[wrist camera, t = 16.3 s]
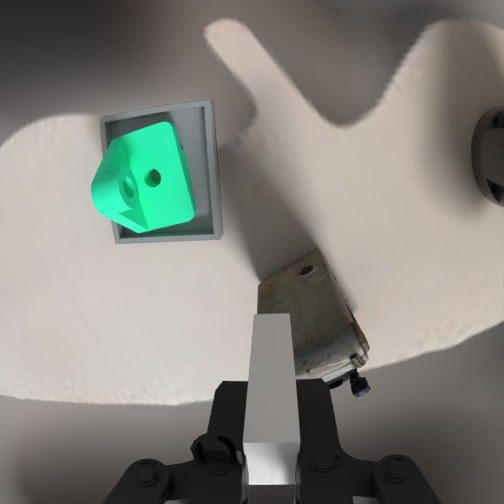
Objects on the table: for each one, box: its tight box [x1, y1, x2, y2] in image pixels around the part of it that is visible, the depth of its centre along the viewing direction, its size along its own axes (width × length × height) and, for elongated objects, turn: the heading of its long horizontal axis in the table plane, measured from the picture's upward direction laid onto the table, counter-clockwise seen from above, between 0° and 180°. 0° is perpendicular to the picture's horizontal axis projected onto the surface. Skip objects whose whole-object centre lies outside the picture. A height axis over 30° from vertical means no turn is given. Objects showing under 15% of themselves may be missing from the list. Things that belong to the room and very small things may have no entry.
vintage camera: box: [257, 250, 371, 397], centre depth 34 cm, size 10×16×20 cm, turn 33°
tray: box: [100, 100, 223, 244], centre depth 36 cm, size 14×16×2 cm
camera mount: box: [91, 122, 197, 233], centre depth 32 cm, size 12×8×10 cm, turn 13°
